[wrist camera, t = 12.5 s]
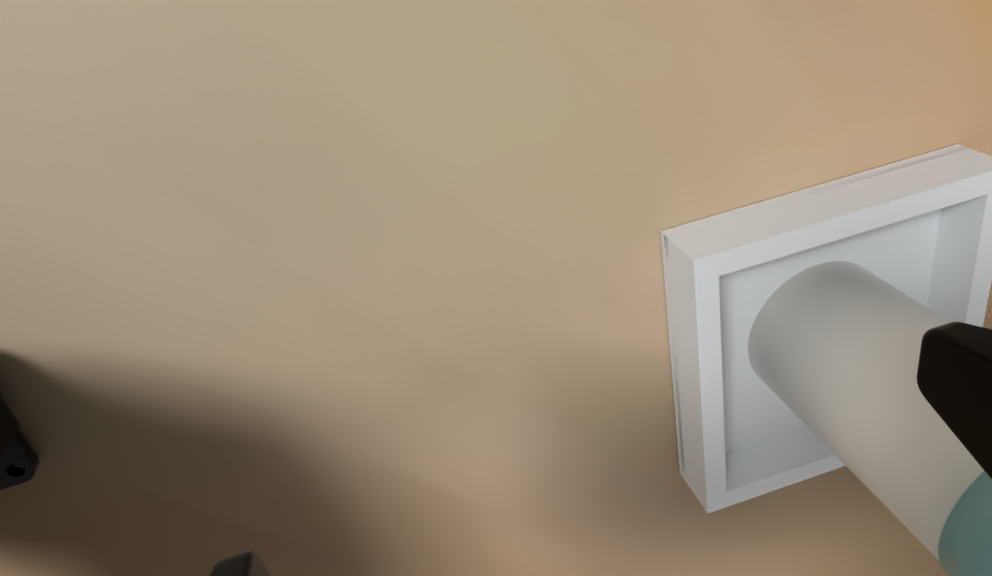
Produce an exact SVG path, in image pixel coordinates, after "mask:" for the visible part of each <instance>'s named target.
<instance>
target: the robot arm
mask: <svg viewBox="0 0 992 576" xmlns="http://www.w3.org/2000/svg"><path fill="white" fill-rule="evenodd" d="M917 384H918V387H919V390H920V391H921V393H922V395H923V396H924V398H925V399H926V400H927V401H928V403H929V404H930V405H931V406H932V408H933V409H934V410H935V411H936V412H937V414H938V415H939V416H940V417H941V419H942V420H943V421H944V422H945V423H946V425H947V426H948V427H949V428H950V430H951V431H952V432H953V433H954V434H955V436H956V437H957V438H958V439H959V441H960V442H961V443H962V444H963V445H964V447H965V448H966V449H967V450H968V452H969V453H970V454H971V455H972V456H973V458H974V459H975V460H976V461H977V463H978V464H979V465H980V466H981V467H982V469H983V470H984V471H985V472H986V473H987V475H988V476H989V477H990V478H991V479H992V329H987V328H983V327H979V326H975V325H971V324H967V323H963V322H950V323H947V324H944V325H940V326H937V327H934V328H931V329H929V330H927V331H926V332H925V334H924V335H923V337H922V341H921V348H920V355H919V362H918V369H917ZM18 427H19V423H18V421H17V420H16V418H15V417H14V416H13V414H12V413H11V411H10V410H9V408H8V407H7V406H6V404H5V403H4V401H3V400H2V398H1V397H0V490H1V489H4V488H7V487H11V486H14V485H17V484H20V483H24V482H26V481H28V480H30V479H31V478H32V477H33V476H34V474H35V472H36V470H37V468H38V465H39V459H38V457H37V455H36V453H35V452H34V451H33V449H32V448H31V446H30V445H29V443H28V442H27V441H26V439H25V438H24V436H23V435H22V433H21V432H20V431H19V429H18ZM14 463H17V464H21V465H22V466H23V467H24V468H18V467H14V466H13V465H12V464H14ZM209 576H270V574H269V572H268V571H267V569H266V567H265V565H264V563H263V561H262V559H261V557H260V556H259V554H258V553H257V552H255V551H254V550H247V551H244V552H241V553H237V554H234V555H231V556H228V557H225V558H223V559H221V560H220V561H219V562H218V563H217V564H216V565H215V567H214V568H213V570H212V572H211V573H210V575H209Z"/></svg>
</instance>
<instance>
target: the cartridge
mask: <svg viewBox="0 0 992 576" xmlns="http://www.w3.org/2000/svg"><path fill="white" fill-rule="evenodd" d="M947 323H950V322H948V321H947V320H945V319H944V318H942V317H941V316H939V315H937V314H936V313H934V312H933V311H931V310H930V309H928V308H926V307H925V306H923V305H922V304H920V303H919V302H917V301H916V300H914V299H912V298H911V297H909V296H908V295H906V294H905V293H903V292H901V291H900V290H898V289H897V288H895V287H894V286H892V285H890V284H889V283H887V282H886V281H884V280H883V279H881V278H879V277H878V276H876V275H875V274H873V273H872V272H870V271H868V270H867V269H865V268H864V267H862V266H860V265H858V264H855V263H852V262H846V261H831V262H825V263H821V264H817V265H814V266H812V267H809V268H807V269H805V270H803V271H801V272H799V273H797V274H796V275H794V276H793V277H791V278H790V279H788V280H787V281H786V282H785V283H783V284H782V285H781V286H780V287H779V288H778V289H777V290H776V291H775V292H774V293H773V294H772V295H771V296H770V297H769V298H768V299H767V301H766V302H765V303H764V305H763V306H762V308H761V309H760V311H759V313H758V314H757V316H756V318H755V320H754V323H753V325H752V328H751V331H750V335H749V340H748V356H749V361H750V364H751V367H752V369H753V370H754V372H755V373H756V375H757V376H758V377H759V378H760V379H761V380H762V381H763V382H764V383H765V384H766V385H767V386H768V387H769V388H770V389H771V390H772V391H773V392H774V393H775V394H776V395H777V396H778V397H779V398H780V399H781V400H782V401H783V403H784V404H785V405H786V406H787V407H788V408H789V409H790V410H791V411H792V412H793V413H794V414H795V415H796V416H797V417H798V418H799V419H800V420H801V421H802V422H803V423H804V424H805V425H806V426H807V427H808V428H809V429H810V430H811V431H812V432H813V433H814V434H815V435H816V436H817V437H818V438H819V439H820V440H821V441H822V442H823V443H824V444H825V445H826V446H827V447H828V448H829V449H830V450H831V451H832V452H833V453H834V454H835V455H836V456H837V457H838V458H839V460H840V461H841V462H842V463H843V464H844V465H845V466H846V467H847V468H848V469H849V470H850V471H851V472H852V473H853V474H854V475H855V476H856V477H857V478H858V479H859V480H860V481H861V482H862V483H863V484H864V485H865V486H866V487H867V488H868V489H869V490H870V491H871V492H872V493H873V494H874V495H875V496H876V497H877V498H878V499H879V500H880V501H881V502H882V503H883V504H884V505H885V506H886V507H887V508H888V509H889V510H890V511H891V512H892V513H893V514H894V516H895V517H896V518H897V519H898V520H899V521H900V522H901V523H902V524H903V525H904V526H905V527H906V528H907V529H908V530H909V531H910V532H911V533H912V534H913V535H914V536H915V537H916V538H917V539H918V540H919V541H920V542H921V543H922V544H923V545H924V546H925V547H926V548H927V549H928V550H929V551H930V552H931V553H932V554H933V555H934V556H935V557H936V558H937V559H938V560H939V562H940V564H941V567H942V569H943V570H944V571H945V573H946V574H947V575H948V576H992V479H991V478H990V477H989V476H988V475H987V473H986V472H985V471H984V470H983V469H982V467H981V466H980V465H979V464H978V463H977V461H976V460H975V459H974V458H973V456H972V455H971V454H970V453H969V452H968V450H967V449H966V448H965V447H964V445H963V444H962V443H961V442H960V441H959V439H958V438H957V437H956V436H955V434H954V433H953V432H952V431H951V430H950V428H949V427H948V426H947V425H946V423H945V422H944V421H943V420H942V419H941V417H940V416H939V415H938V414H937V412H936V411H935V410H934V409H933V408H932V406H931V405H930V404H929V403H928V401H927V400H926V399H925V398H924V396H923V395H922V393H921V391H920V390H919V387H918V384H917V369H918V362H919V355H920V348H921V341H922V337H923V335H924V334H925V332H926V331H927V330H929V329H931V328H934V327H937V326H940V325H944V324H947Z"/></svg>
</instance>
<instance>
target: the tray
mask: <svg viewBox="0 0 992 576" xmlns="http://www.w3.org/2000/svg"><path fill="white" fill-rule="evenodd" d="M660 232H661V244H662V256H663V269H664V281H665V294H666V306H667V319H668V331H669V343H670V356H671V368H672V381H673V393H674V406H675V418H676V430H677V443H678V455H679V468H680V474H681V475H682V477H683V478H684V480H685V481H686V483H687V484H688V486H689V487H690V489H691V490H692V492H693V493H694V494H695V496H696V497H697V499H698V500H699V502H700V503H701V505H702V506H703V508H704V509H705V511H706V512H707V514H708V513H711V512H714V511H717V510H720V509H722V508H725V507H728V506H731V505H734V504H737V503H740V502H743V501H746V500H748V499H751V498H754V497H757V496H760V495H763V494H766V493H769V492H772V491H774V490H777V489H780V488H783V487H786V486H789V485H792V484H795V483H797V482H800V481H803V480H806V479H809V478H812V477H815V476H818V475H821V474H823V473H826V472H829V471H832V470H835V469H838V468H841V467H844V466H845V465H844V464H843V463H842V462H841V461H840V460H839V458H838V457H837V456H836V455H835V454H834V453H833V452H832V451H831V450H830V449H829V448H828V447H827V446H826V445H825V444H824V443H823V442H822V441H821V440H820V439H819V438H818V437H817V436H816V435H815V434H814V433H813V432H812V431H811V430H810V429H809V428H808V427H807V426H806V425H805V424H804V423H803V422H802V421H801V420H800V419H799V418H798V417H797V416H796V415H795V414H794V413H793V412H792V411H791V410H790V409H789V408H788V407H787V406H786V405H785V404H784V403H783V401H782V400H781V399H780V398H779V397H778V396H777V395H776V394H775V393H774V392H773V391H772V390H771V389H770V388H769V387H768V386H767V385H766V384H765V383H764V382H763V381H762V380H761V379H760V378H759V377H758V376H757V375H756V373H755V372H754V370H753V369H752V367H751V364H750V361H749V356H748V340H749V335H750V331H751V328H752V325H753V323H754V320H755V318H756V316H757V314H758V313H759V311H760V309H761V308H762V306H763V305H764V303H765V302H766V301H767V299H768V298H769V297H770V296H771V295H772V294H773V293H774V292H775V291H776V290H777V289H778V288H779V287H780V286H781V285H782V284H783V283H785V282H786V281H787V280H788V279H790V278H791V277H793V276H794V275H796V274H797V273H799V272H801V271H803V270H805V269H807V268H809V267H812V266H814V265H817V264H821V263H825V262H831V261H846V262H852V263H855V264H858V265H860V266H862V267H864V268H865V269H867V270H868V271H870V272H872V273H873V274H875V275H876V276H878V277H879V278H881V279H883V280H884V281H886V282H887V283H889V284H890V285H892V286H894V287H895V288H897V289H898V290H900V291H901V292H903V293H905V294H906V295H908V296H909V297H911V298H912V299H914V300H916V301H917V302H919V303H920V304H922V305H923V306H925V307H926V308H928V309H930V310H931V311H933V312H934V313H936V314H937V315H939V316H941V317H942V318H944V319H945V320H947V321H948V322H963V323H967V324H971V325H975V326H979V327H983V323H984V318H985V313H986V308H987V302H988V297H989V292H990V287H991V281H992V156H989V155H986V154H983V153H981V152H978V151H975V150H972V149H970V148H967V147H964V146H961V145H958V144H956V145H953V146H949V147H946V148H942V149H939V150H936V151H932V152H929V153H925V154H922V155H919V156H915V157H912V158H908V159H905V160H902V161H898V162H895V163H891V164H888V165H885V166H881V167H878V168H874V169H871V170H868V171H864V172H861V173H857V174H854V175H851V176H847V177H844V178H840V179H837V180H834V181H830V182H827V183H823V184H820V185H817V186H813V187H810V188H806V189H803V190H800V191H796V192H793V193H789V194H786V195H783V196H779V197H776V198H772V199H769V200H766V201H762V202H759V203H755V204H752V205H749V206H745V207H742V208H738V209H735V210H732V211H728V212H725V213H721V214H718V215H714V216H711V217H708V218H704V219H701V220H697V221H694V222H691V223H687V224H684V225H680V226H677V227H674V228H670V229H667V230H663V231H660Z"/></svg>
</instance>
